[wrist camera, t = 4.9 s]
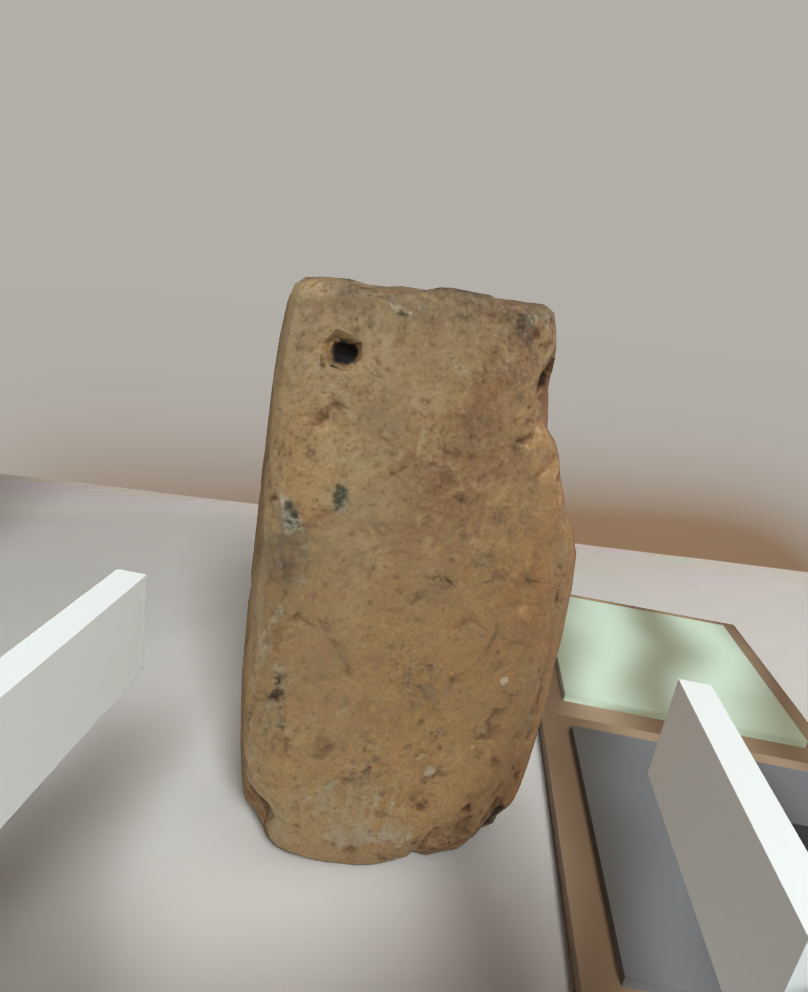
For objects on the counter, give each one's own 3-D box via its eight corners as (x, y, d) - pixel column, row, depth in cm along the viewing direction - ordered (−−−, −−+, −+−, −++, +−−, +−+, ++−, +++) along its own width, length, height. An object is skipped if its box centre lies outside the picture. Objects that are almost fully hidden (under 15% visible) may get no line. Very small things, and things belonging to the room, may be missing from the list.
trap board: (91, 925, 20) (91, 900, 20) (318, 555, 49) (319, 542, 48) (1116, 1155, 19) (1133, 1132, 18) (731, 632, 47) (735, 620, 47)
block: (213, 864, 23) (264, 257, 17) (252, 724, 30) (297, 262, 24) (518, 890, 24) (672, 323, 18) (486, 749, 31) (587, 309, 25)
